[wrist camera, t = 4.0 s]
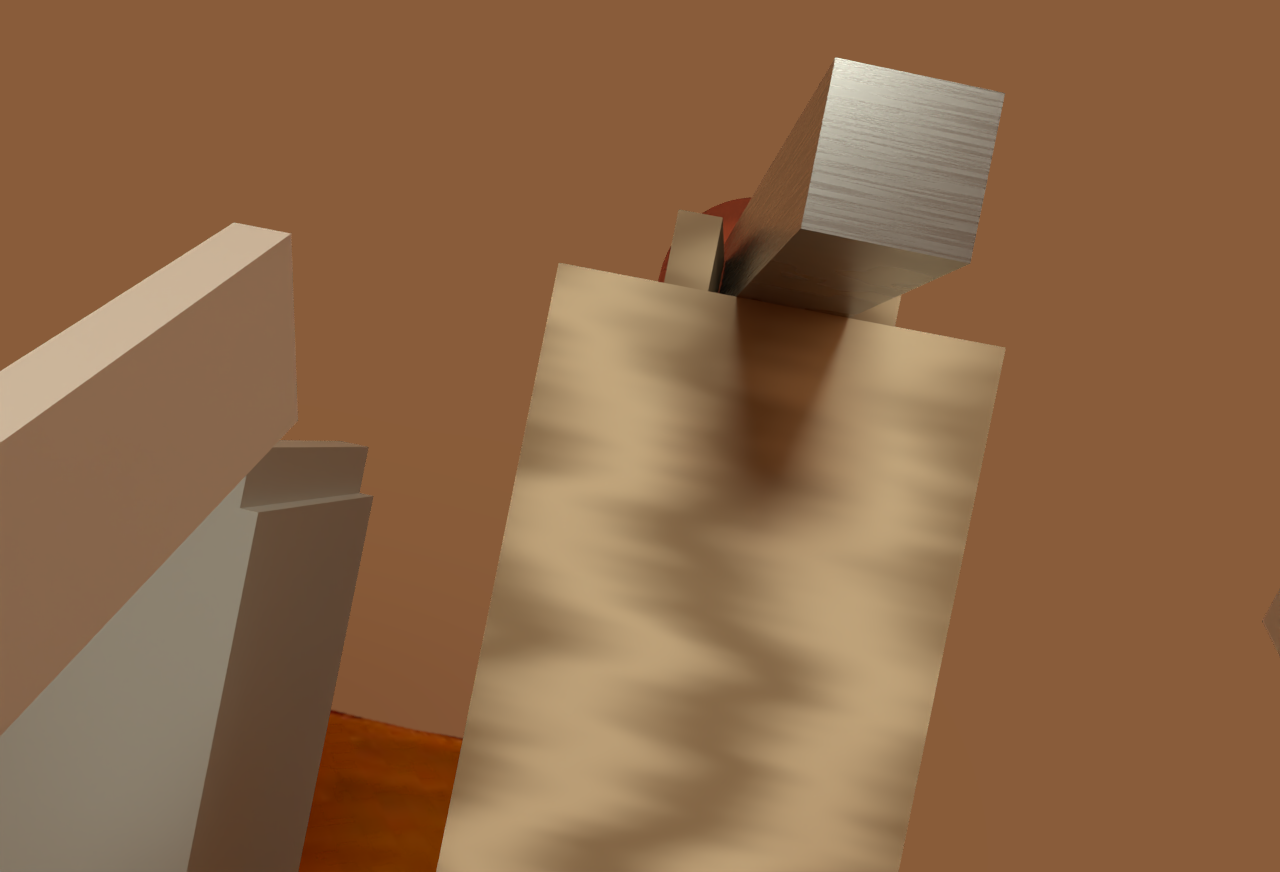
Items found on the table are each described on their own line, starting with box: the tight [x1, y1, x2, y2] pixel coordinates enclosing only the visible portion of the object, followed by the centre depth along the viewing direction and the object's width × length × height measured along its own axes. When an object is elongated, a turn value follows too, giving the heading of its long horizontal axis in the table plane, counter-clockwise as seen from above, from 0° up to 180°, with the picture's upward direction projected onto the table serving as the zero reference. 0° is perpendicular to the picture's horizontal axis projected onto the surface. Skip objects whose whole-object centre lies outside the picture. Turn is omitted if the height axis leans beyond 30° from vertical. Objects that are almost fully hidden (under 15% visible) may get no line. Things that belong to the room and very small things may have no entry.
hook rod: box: [658, 58, 1005, 318], centre depth 30 cm, size 7×22×7 cm, turn 0°
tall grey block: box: [0, 440, 373, 872], centre depth 33 cm, size 8×9×24 cm
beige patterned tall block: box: [436, 210, 1005, 872], centre depth 32 cm, size 12×7×32 cm, turn 84°
